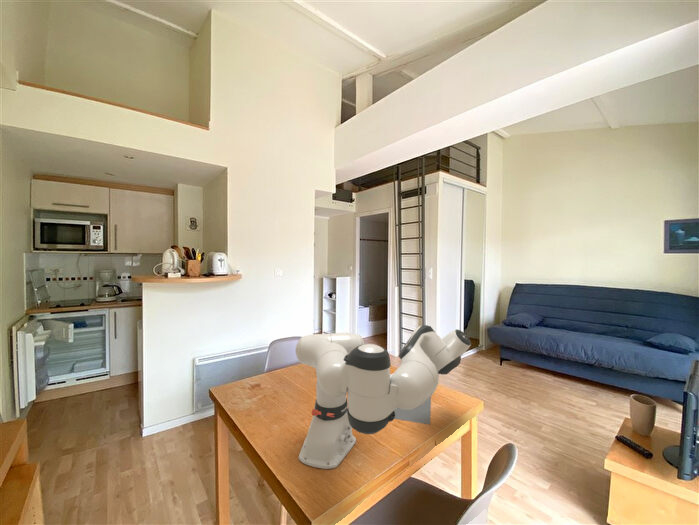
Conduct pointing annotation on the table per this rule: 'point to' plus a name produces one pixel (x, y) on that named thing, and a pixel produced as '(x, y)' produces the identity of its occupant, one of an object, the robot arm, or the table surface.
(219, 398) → the table surface
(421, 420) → the mat
